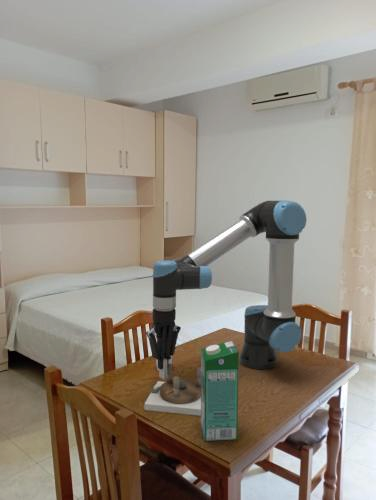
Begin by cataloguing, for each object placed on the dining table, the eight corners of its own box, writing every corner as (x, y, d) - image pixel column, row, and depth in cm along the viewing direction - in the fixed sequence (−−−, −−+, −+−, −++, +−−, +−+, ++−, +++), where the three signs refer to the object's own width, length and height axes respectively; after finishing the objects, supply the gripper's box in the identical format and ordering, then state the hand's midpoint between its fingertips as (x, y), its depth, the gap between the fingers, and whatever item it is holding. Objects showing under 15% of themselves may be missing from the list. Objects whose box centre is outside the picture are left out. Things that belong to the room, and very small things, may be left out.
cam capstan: (181, 379, 141) (181, 358, 140) (210, 393, 131) (210, 370, 130) (151, 392, 131) (150, 370, 130) (179, 408, 121) (179, 383, 120)
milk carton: (200, 423, 117) (201, 340, 114) (231, 421, 118) (232, 339, 115) (204, 441, 108) (205, 352, 105) (237, 439, 109) (238, 351, 106)
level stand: (214, 392, 136) (214, 381, 136) (208, 416, 121) (208, 404, 120) (158, 386, 140) (158, 376, 140) (144, 409, 125) (144, 398, 124)
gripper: (172, 303, 138) (170, 369, 140) (141, 308, 129) (140, 378, 132) (186, 307, 132) (184, 376, 135) (155, 313, 124) (154, 386, 126)
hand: (162, 377), depth 133 cm, fingers closed
